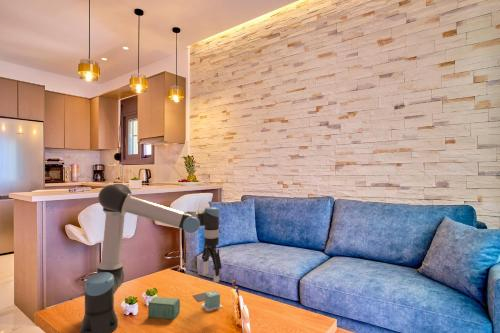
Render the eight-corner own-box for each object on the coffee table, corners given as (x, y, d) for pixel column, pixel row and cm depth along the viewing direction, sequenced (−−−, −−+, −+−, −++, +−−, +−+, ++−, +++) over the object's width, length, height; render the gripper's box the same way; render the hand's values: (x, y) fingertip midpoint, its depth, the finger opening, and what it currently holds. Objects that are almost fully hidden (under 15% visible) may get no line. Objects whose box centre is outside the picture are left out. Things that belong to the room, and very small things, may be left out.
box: (174, 320, 139) (174, 304, 139) (147, 318, 141) (147, 302, 141) (180, 312, 146) (180, 297, 146) (155, 310, 148) (155, 296, 148)
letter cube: (209, 308, 149) (209, 296, 149) (204, 304, 154) (204, 292, 154) (220, 305, 152) (220, 293, 152) (215, 301, 157) (215, 289, 157)
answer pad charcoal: (198, 302, 157) (198, 301, 157) (192, 296, 165) (192, 295, 165) (213, 298, 162) (213, 297, 162) (207, 292, 169) (207, 292, 169)
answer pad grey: (206, 311, 147) (206, 310, 147) (200, 304, 154) (200, 303, 154) (222, 307, 151) (222, 306, 151) (215, 300, 159) (215, 299, 159)
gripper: (228, 241, 145) (228, 284, 144) (208, 231, 166) (208, 269, 166) (214, 243, 141) (214, 287, 140) (196, 233, 162) (195, 271, 162)
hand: (210, 277), depth 153 cm, fingers open, 13 cm apart
